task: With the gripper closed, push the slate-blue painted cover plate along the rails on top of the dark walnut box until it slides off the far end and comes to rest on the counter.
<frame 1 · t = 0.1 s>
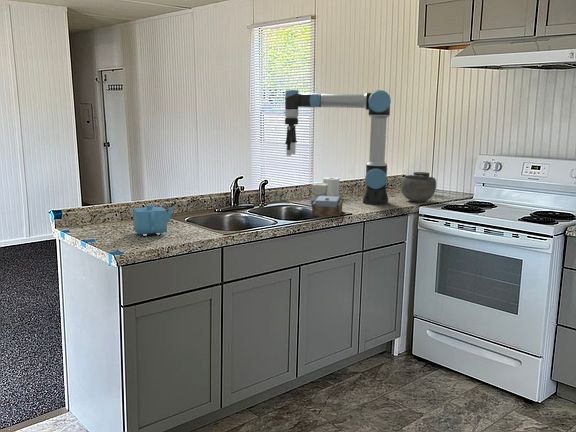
hand: (291, 154, 325), 28 cm above the worktop, fingers open, 13 cm apart
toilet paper: (330, 197, 352), on the worktop
bowl: (417, 201, 342), on the worktop
walnut box: (327, 213, 298), on the worktop
teapot: (157, 234, 245), on the worktop
cover plate: (327, 204, 297), point 5 cm above the worktop, touching walnut box
ink box: (319, 204, 328), on the worktop
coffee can: (420, 194, 372), on the worktop
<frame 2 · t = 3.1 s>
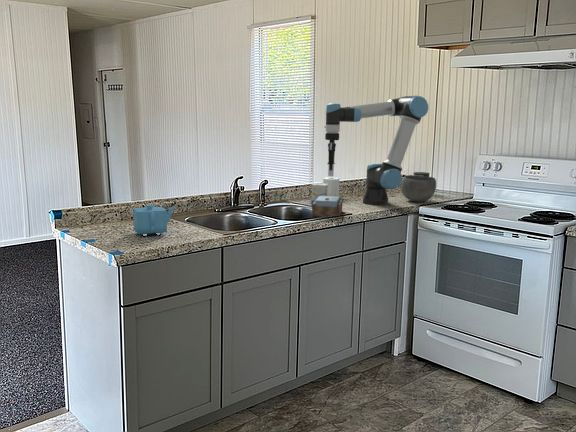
hand: (330, 176, 308), 18 cm above the worktop, fingers closed
nothing on the worktop moved.
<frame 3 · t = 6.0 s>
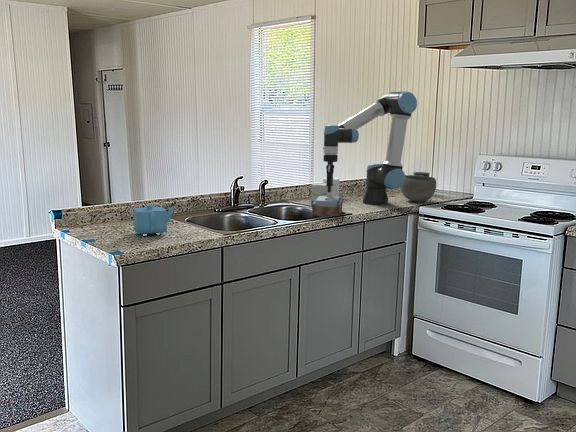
hand: (329, 197, 305), 7 cm above the worktop, fingers closed
cover plate: (327, 204, 297), point 5 cm above the worktop, touching gripper, walnut box
everything else where it was.
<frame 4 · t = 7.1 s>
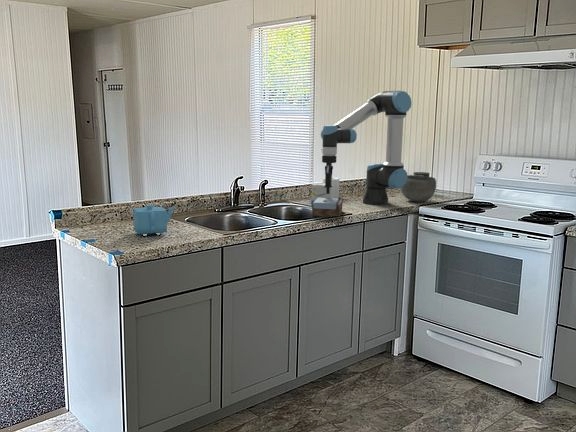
hand: (327, 199, 299), 7 cm above the worktop, fingers closed
cover plate: (326, 206, 291), point 5 cm above the worktop, touching gripper
everything else where it was.
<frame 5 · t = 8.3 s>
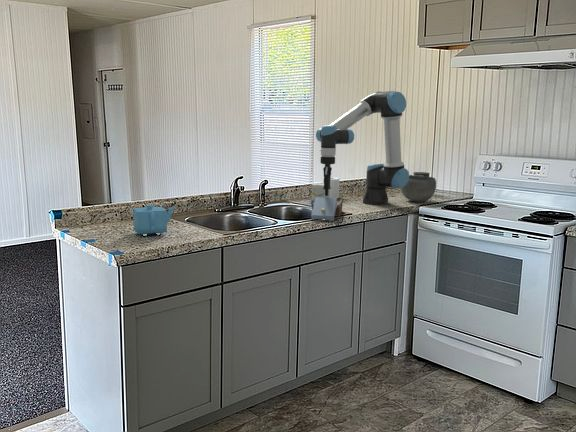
hand: (326, 201, 292), 7 cm above the worktop, fingers closed
cover plate: (324, 211, 286), point 3 cm above the worktop, tilted 25°
everything else where it was.
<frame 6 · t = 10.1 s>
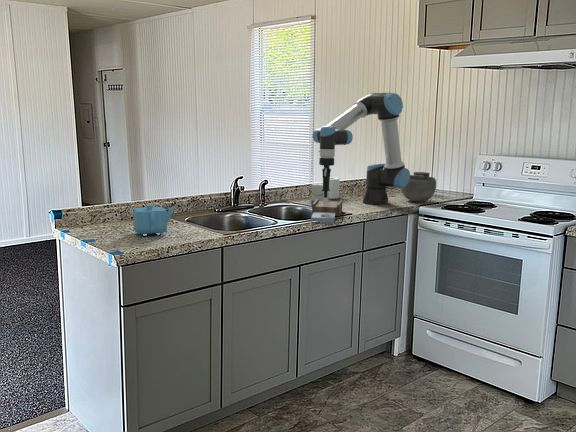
hand: (325, 203, 287), 7 cm above the worktop, fingers closed
cover plate: (323, 220, 282), on the worktop
everything else where it was.
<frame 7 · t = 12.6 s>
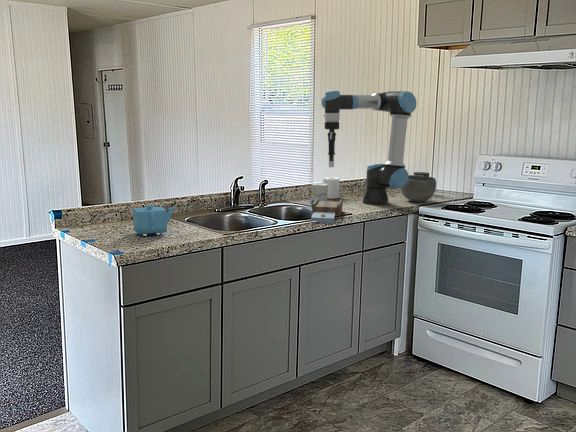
hand: (331, 167, 294), 25 cm above the worktop, fingers closed
nothing on the worktop moved.
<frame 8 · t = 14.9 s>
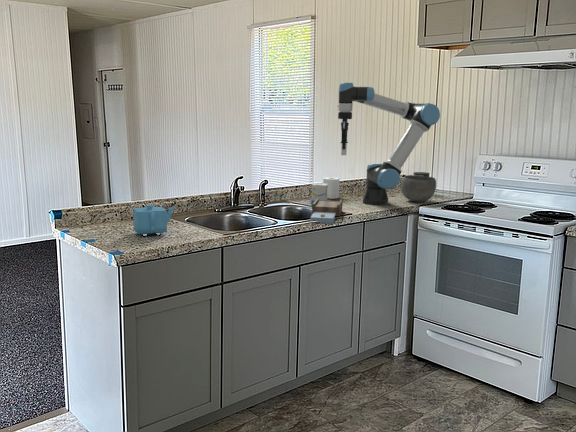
hand: (343, 155, 311), 29 cm above the worktop, fingers closed
nothing on the worktop moved.
at the end: cover plate inside the target area on the worktop beside the walnut box (2.6 cm from its centre), on the worktop; cover plate moved 18.3 cm from its start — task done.
